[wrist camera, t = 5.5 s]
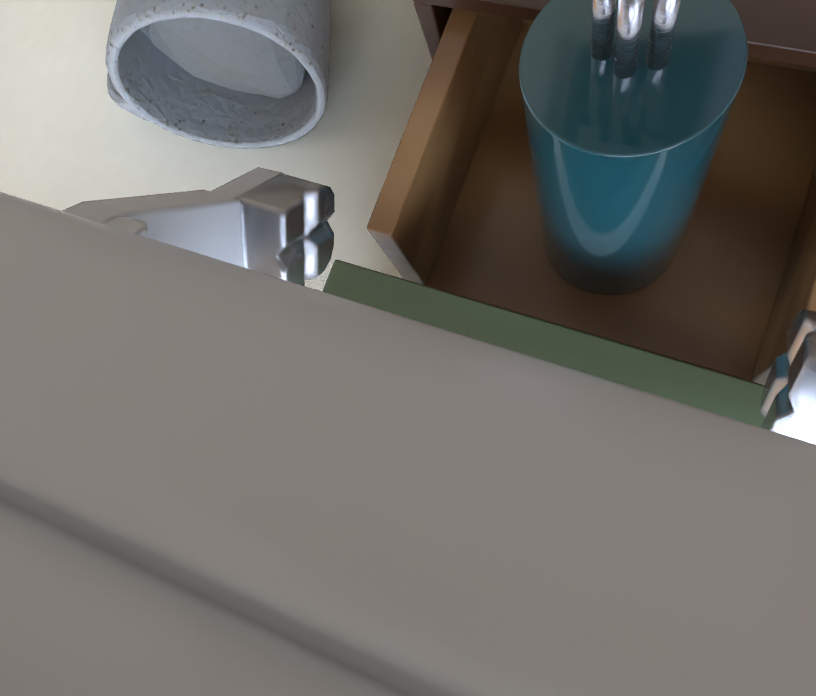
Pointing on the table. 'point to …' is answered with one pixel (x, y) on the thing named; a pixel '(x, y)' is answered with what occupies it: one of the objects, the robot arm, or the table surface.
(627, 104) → the cutlery cup
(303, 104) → the ceramic mug
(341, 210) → the table surface
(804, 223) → the drawer
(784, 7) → the cabinet
